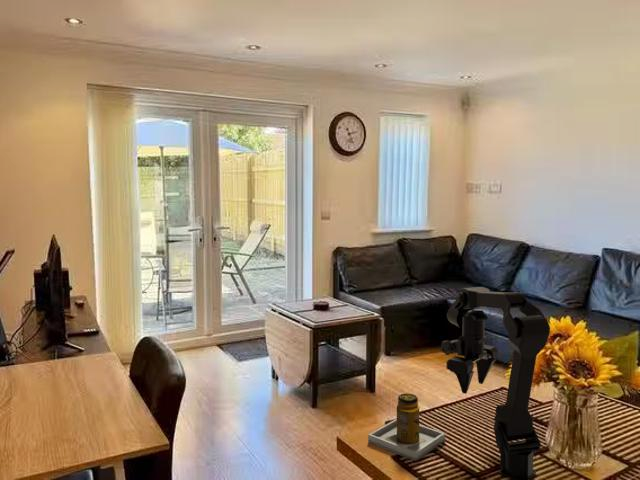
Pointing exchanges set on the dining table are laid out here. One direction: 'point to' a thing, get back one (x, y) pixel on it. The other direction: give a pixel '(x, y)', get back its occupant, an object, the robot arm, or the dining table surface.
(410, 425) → the condiment
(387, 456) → the dining table surface
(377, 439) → the tray
